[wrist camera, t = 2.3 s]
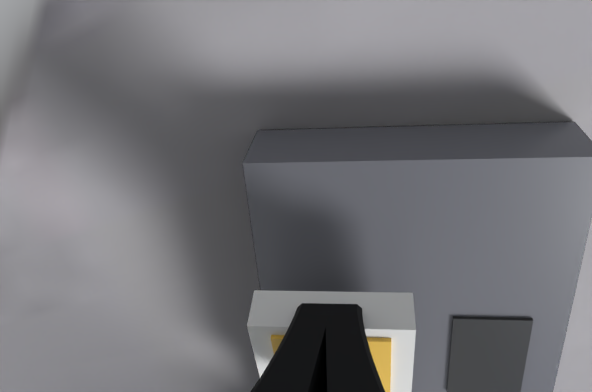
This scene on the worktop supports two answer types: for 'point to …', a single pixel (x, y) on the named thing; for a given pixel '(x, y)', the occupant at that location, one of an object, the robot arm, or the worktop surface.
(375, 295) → the outlet rocker
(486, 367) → the power strip
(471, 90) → the worktop surface
